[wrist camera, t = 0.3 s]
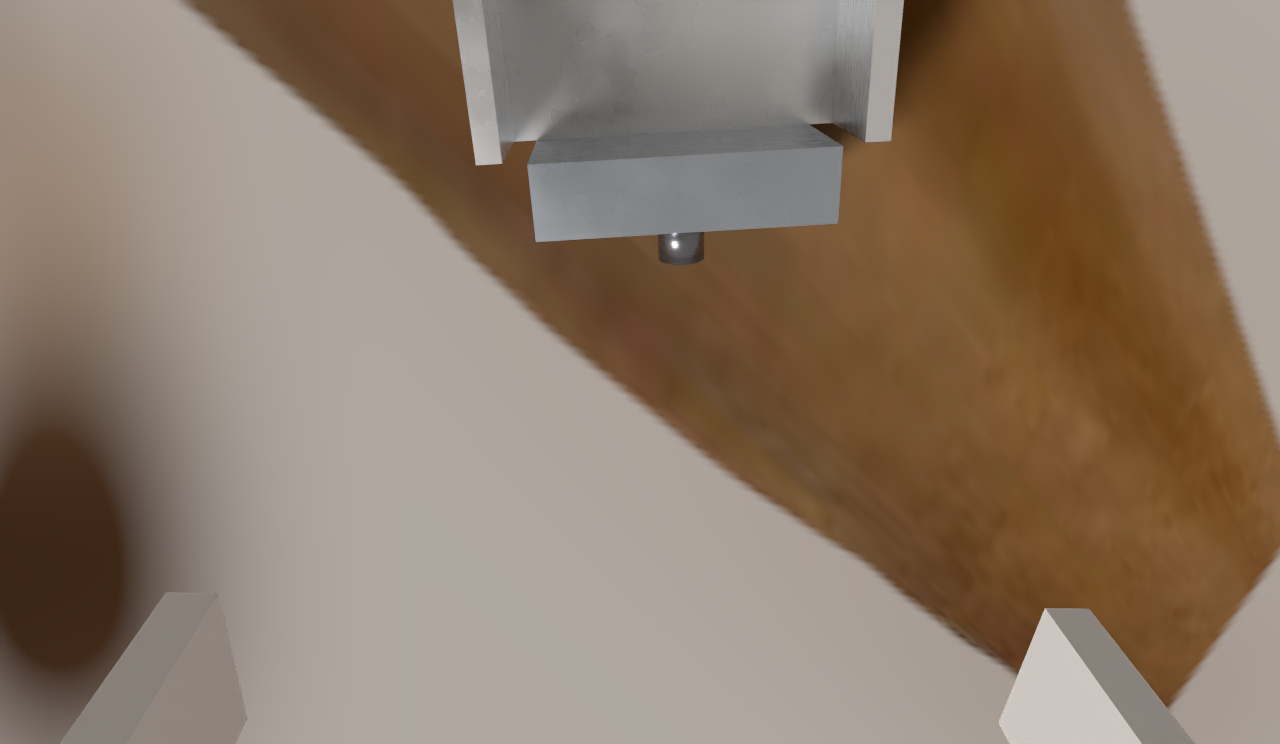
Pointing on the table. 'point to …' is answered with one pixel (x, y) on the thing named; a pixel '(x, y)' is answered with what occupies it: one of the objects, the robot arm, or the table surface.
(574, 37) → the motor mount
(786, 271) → the table surface
